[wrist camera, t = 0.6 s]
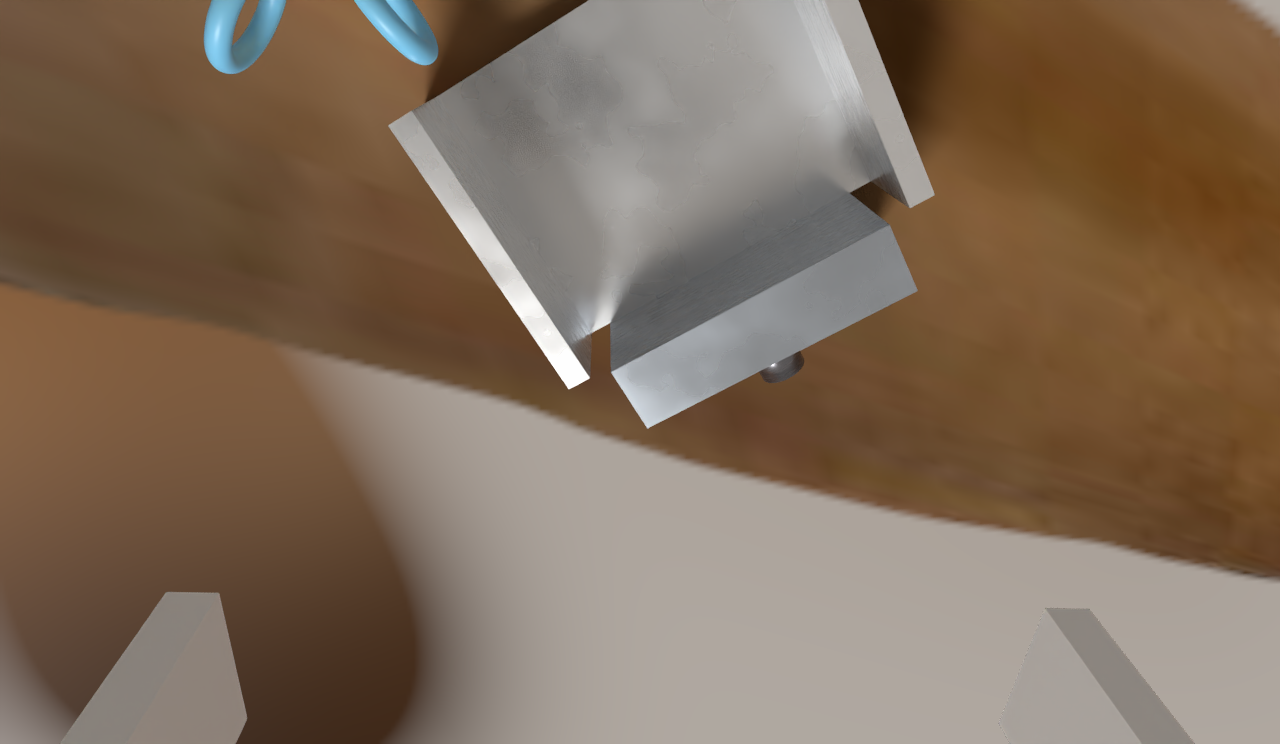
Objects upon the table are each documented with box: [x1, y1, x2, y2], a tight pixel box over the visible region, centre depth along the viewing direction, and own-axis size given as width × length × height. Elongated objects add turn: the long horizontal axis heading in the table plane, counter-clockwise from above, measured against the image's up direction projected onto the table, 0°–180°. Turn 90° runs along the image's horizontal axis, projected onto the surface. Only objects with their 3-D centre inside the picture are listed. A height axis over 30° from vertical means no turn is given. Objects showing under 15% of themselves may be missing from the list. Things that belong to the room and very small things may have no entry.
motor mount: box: [388, 0, 935, 428], centre depth 31 cm, size 17×16×6 cm
